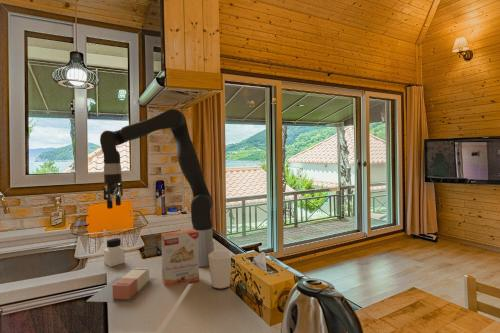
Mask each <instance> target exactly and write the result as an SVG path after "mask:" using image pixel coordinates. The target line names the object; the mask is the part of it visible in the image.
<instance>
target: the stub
mask: <svg viewBox="0 0 500 333" xmlns="http://www.w3.org/2000/svg"><path fill="white" fill-rule="evenodd" d="M112 289H113V299H125V300H129V299H130V298H131V297H132V296H133V295H134V294H135V293H136V292H137V278H121V279H120V280H118V281H117V282H116V283H115V284H113V285H112Z"/></svg>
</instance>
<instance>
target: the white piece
mask: <svg viewBox="0 0 500 333" xmlns="http://www.w3.org/2000/svg"><path fill="white" fill-rule="evenodd" d="M121 278H137V292H136V293H135V294H134V295H133V296H132V297H131V298H130V299H129V300H125V299H113V289H112V285H113V284H115V283H116V282H117V281H118V280H120V279H121ZM156 279H157V278H156V277H150V268H149V267H134V268H132V269H131V271H129V272H127V274H124V276H123V277H121V276H120V277H119V276H117V277H115V278H114V279H113V280H111V281H110V282H109V283H108V284H106V285H105V286H103V288H101V289H100V290H98V291H97V292H96V293H95V294H94V295H92V296H91V297H89V298H88V299H87V300H86V302H90V303H91V302H95V303H96V302H97V303H100V302H101V303H128V304H129V303H132V304H133V303H134V302H135V301H136V299H138V298H139V297H140V296H141V295H142V293H143V292H145V290H146V289H147V288H148V287H149V286H150V285H151V284H152V283H153V282H154V281H155V280H156Z"/></svg>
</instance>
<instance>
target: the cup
mask: <svg viewBox="0 0 500 333" xmlns="http://www.w3.org/2000/svg"><path fill="white" fill-rule="evenodd" d="M232 257H233V258H234V253H233V252H232V251H230V250H214V252H211V253H209V254H208V258H209V266H208V267H209V273H210V280H211V282H210V283H211V287H212V288H213V289H218V290H219V291H221V290H223V289H228V288H230V286H231V285H230V273H231V258H232Z"/></svg>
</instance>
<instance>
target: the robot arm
mask: <svg viewBox="0 0 500 333" xmlns="http://www.w3.org/2000/svg"><path fill="white" fill-rule="evenodd" d="M164 129H170V130H171V133H172V136H173V138H174V141H175V149H176V157H177V162H178V164H179V168H180V171H181V172H182V174H183V177H185V179H186V181H187V182H188V184H189V186H190V188H191V192H192V196H193V199H192V200H191V203H190V216H191V217H190V219H191V220H190V221H191V224H192V229H195V230H196V231H197V232H199V268H205V267H210V266H209V258H208V254H209V253H211V252H214V251H215V243H214V241H213V240H214V239H213V221H212V213H211V212H212V210H211V209H212V208H213V206H214V201H213V197H212V195H211V193H210V191H209V189H208V187H207V186H208V185H207V184H206V182H205V178H204V174H203V170H202V168H201V163H200V159H199V157H198V153H197V151H196V148H195V147H194V143H193V141H192V140H191V137H190V136H191V135H190V132H189V128H188V124H187V119H186V116H185V115H184V113H183V112H182V111H180V110H178V109H176V108H171V109H167V110H166V111H163V112H162V113H160V114H158V115H155V116H153V117H151V118H148V119H144V120H142V121H137V122H135V123H131V124H129V125H125V126H122V127H121V128H120V129H118V130H114V131H113V130H104V131H102V132H101V133H100V137H99V141H100V147H101V151H102V153H103V180H104V184H107V186H103V200H105V201H106V208H107V210H110V209H111V210H112V209H113V198H114V197H115V206H116V207H117V206H121V205H122V200H121V198H122V196H124V192H123V191H124V190H123V184H122V182H123V180H122V178H123V177H122V167H121V166H122V164H121V153H120V152H119V151H118V149H117V146H121V145H123V144H125V143H127V142H129V141H133V140H137V139H139V138H142V137H146V136H147V135H149V134H151V133H153V132H156V131H160V130H164Z"/></svg>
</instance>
